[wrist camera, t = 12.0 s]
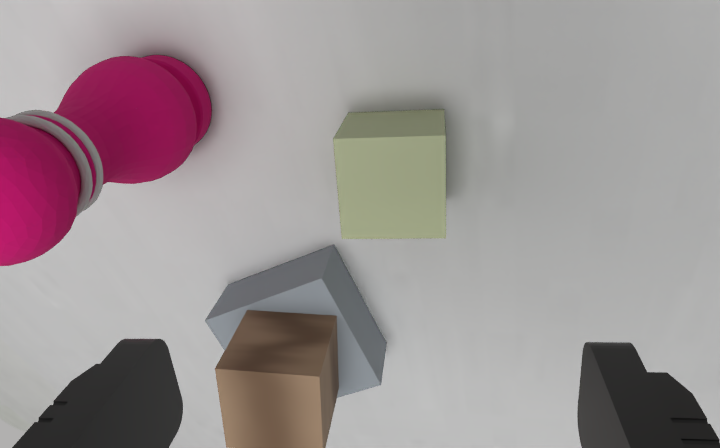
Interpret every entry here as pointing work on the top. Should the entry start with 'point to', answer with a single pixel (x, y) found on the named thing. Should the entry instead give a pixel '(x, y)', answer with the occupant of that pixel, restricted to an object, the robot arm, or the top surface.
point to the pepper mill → (94, 146)
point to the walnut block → (279, 380)
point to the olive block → (392, 174)
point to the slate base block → (311, 311)
